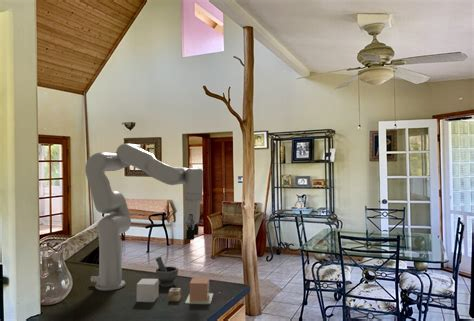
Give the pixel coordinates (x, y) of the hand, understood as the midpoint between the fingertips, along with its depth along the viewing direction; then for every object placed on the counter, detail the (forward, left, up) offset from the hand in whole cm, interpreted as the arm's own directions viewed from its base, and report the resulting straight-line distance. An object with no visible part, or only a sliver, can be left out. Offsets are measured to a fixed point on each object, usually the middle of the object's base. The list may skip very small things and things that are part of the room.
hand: (192, 237), depth 156 cm
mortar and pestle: (-14, +10, -24) cm, 29 cm away
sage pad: (+4, -7, -24) cm, 25 cm away
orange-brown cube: (+4, -7, -23) cm, 25 cm away
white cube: (-17, -8, -24) cm, 30 cm away
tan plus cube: (-6, -8, -24) cm, 26 cm away
